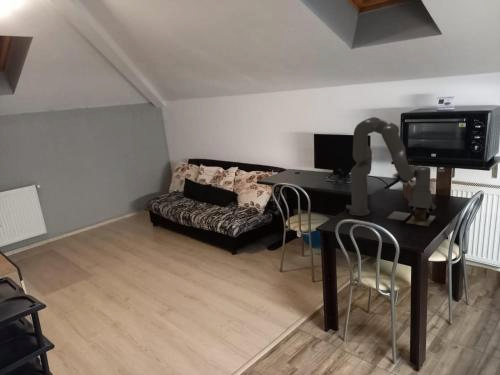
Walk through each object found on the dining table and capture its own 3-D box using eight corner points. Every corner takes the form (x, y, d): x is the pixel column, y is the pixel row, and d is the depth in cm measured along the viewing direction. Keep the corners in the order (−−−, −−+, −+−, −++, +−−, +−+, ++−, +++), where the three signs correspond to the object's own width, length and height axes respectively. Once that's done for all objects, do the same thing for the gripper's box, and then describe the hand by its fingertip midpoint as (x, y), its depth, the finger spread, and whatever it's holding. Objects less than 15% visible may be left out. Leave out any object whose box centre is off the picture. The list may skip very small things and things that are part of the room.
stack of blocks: (402, 195, 273) (402, 178, 270) (411, 195, 272) (412, 178, 269) (411, 204, 253) (412, 186, 249) (421, 204, 252) (422, 186, 249)
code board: (405, 222, 222) (405, 222, 222) (414, 213, 236) (414, 213, 236) (428, 226, 215) (428, 226, 215) (435, 216, 228) (435, 216, 228)
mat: (386, 218, 232) (386, 218, 232) (394, 211, 242) (394, 211, 242) (403, 220, 225) (403, 220, 225) (410, 213, 236) (410, 213, 236)
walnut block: (414, 220, 225) (414, 208, 223) (417, 217, 229) (417, 205, 227) (425, 221, 221) (425, 210, 219) (427, 218, 226) (428, 207, 224)
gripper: (404, 188, 223) (404, 217, 227) (437, 191, 212) (435, 222, 217) (408, 185, 228) (407, 213, 233) (440, 188, 218) (438, 217, 222)
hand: (421, 217), depth 225 cm, fingers closed on walnut block, 6 cm apart
